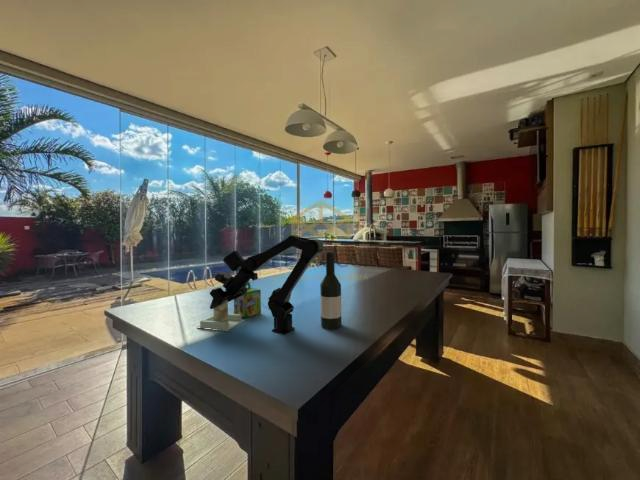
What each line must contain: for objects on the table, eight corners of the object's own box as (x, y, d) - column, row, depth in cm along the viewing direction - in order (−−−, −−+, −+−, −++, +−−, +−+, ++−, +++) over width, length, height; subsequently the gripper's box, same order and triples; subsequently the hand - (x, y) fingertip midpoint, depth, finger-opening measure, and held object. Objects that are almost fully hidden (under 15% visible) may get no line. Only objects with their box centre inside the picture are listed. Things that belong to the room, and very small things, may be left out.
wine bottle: (340, 330, 106) (339, 252, 105) (318, 328, 108) (317, 252, 107) (342, 322, 114) (341, 250, 113) (323, 321, 116) (321, 250, 115)
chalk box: (245, 318, 122) (245, 285, 122) (233, 315, 128) (232, 283, 127) (261, 313, 130) (261, 282, 129) (249, 310, 135) (248, 280, 135)
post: (228, 322, 116) (227, 291, 115) (222, 325, 112) (221, 293, 111) (219, 321, 117) (219, 291, 116) (213, 324, 113) (213, 293, 113)
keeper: (243, 321, 118) (243, 314, 118) (227, 331, 107) (227, 323, 107) (215, 319, 122) (215, 312, 122) (196, 328, 110) (196, 321, 110)
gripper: (240, 262, 122) (219, 286, 125) (213, 268, 104) (189, 296, 107) (256, 281, 120) (235, 305, 123) (232, 290, 102) (207, 317, 105)
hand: (217, 305), depth 114 cm, fingers open, 9 cm apart
